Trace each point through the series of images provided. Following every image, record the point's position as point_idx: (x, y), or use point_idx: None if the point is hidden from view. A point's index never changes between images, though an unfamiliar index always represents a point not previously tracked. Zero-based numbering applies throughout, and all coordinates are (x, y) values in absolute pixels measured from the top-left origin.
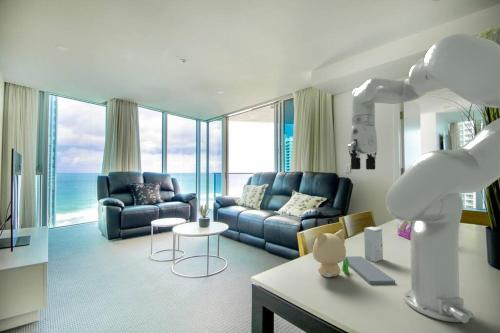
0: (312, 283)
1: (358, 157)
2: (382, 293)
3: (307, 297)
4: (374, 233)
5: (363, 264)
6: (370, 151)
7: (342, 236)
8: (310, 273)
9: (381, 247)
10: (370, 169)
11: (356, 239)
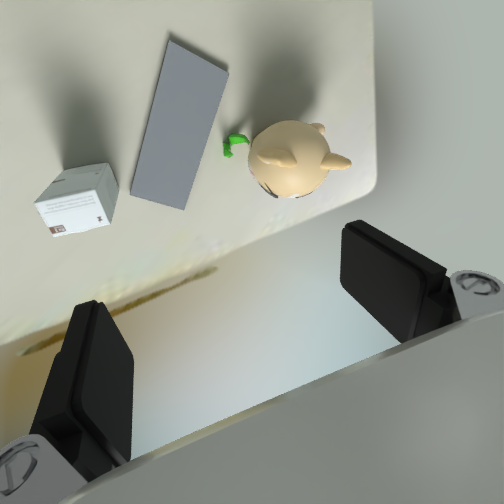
0: None
1: (453, 275)
2: (236, 26)
3: (359, 93)
4: (96, 186)
5: (167, 150)
6: (350, 376)
7: (280, 149)
8: None
9: (62, 178)
10: (113, 326)
11: (17, 321)
